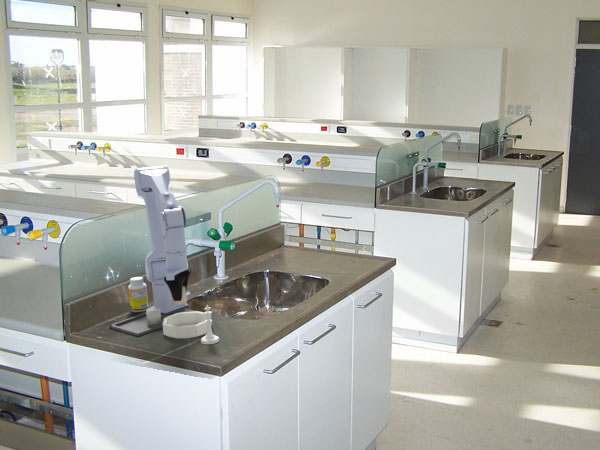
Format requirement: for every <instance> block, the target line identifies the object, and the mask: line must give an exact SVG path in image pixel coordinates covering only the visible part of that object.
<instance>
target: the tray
mask: <svg viewBox="0 0 600 450" xmlns="http://www.w3.org/2000/svg"><path fill="white" fill-rule="evenodd" d="M166 317H168V316H166V315H163V314H161V321H162V324H159V325H157V326H154V327H150V326H148V324H147V314H146V312H145V311H144V312H143V313H139V314H137V315H134V316H132V317H129V318H126V319H123V320H121V321H117V322H113V323H111V324H109V328H110V329H112V330H115V331H118V332H122V333H125V334H128V335H132V336H135V337H141V336H144V335H147V334H149V333H151V332H154V331H156V330H158V329H159V330H160V329H163V321H164V318H166Z"/></svg>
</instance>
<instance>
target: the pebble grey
mask: <svg viewBox="0 0 600 450" xmlns="http://www.w3.org/2000/svg"><path fill="white" fill-rule="evenodd" d="M151 307H152V308H151ZM151 307H149V308H148V309H146V310H145V311H146V314H147V324H148V326H150V327H154V326H157V325H159V324H162V321H161V315H162V314H161V311H160V308H159V307H153V306H151Z"/></svg>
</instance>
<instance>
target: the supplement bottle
mask: <svg viewBox="0 0 600 450" xmlns="http://www.w3.org/2000/svg"><path fill="white" fill-rule="evenodd" d="M129 283H130V284H129V285H128V287H127V290H128V300H129V299H130V300H129V307H130V306H131V309H130V311H131V312H133V313H138V312H139V313H140V312H145V311H146V309H148V308H150V305H149V297H148V296H149V295H148V288H147V284H146V283H145V282H144V277H143V276H135V277H131V278H130V279H129Z"/></svg>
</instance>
